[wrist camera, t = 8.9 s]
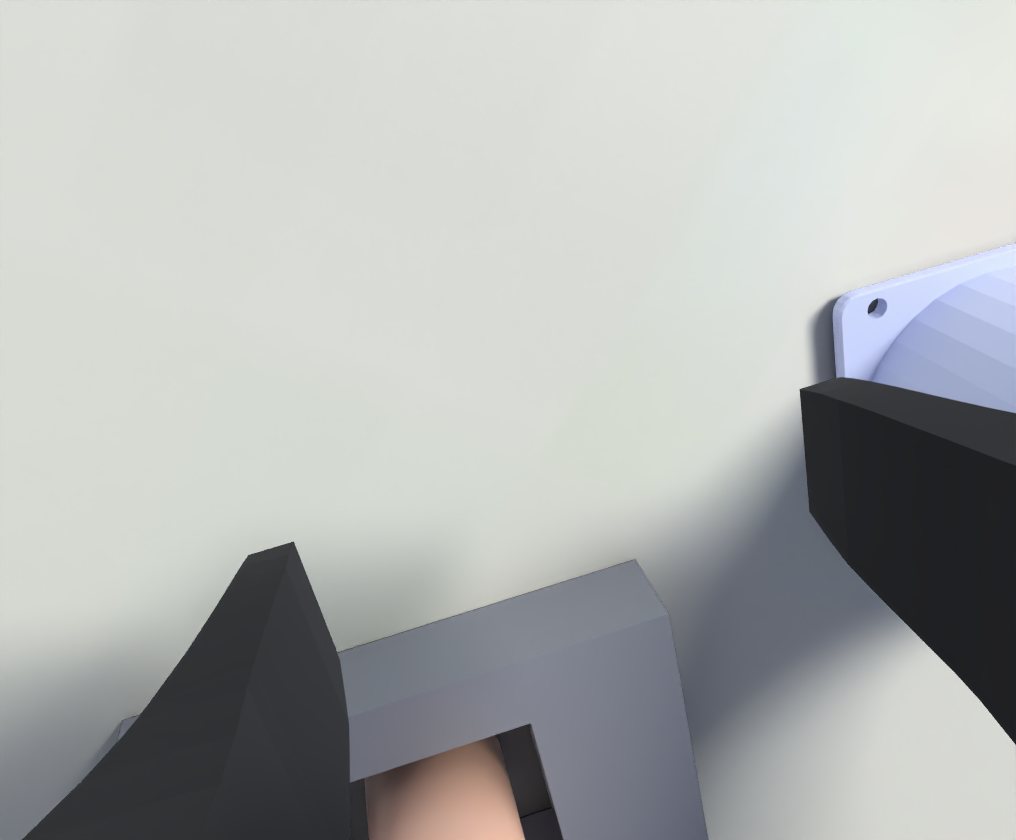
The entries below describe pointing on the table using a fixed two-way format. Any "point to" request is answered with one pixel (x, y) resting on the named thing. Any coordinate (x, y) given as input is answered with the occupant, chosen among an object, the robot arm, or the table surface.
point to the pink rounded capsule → (445, 797)
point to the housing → (543, 703)
